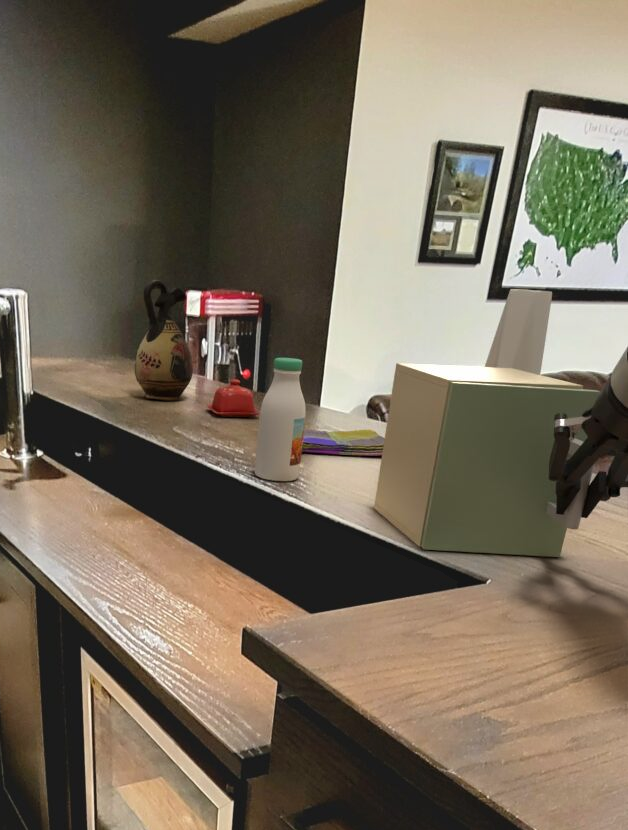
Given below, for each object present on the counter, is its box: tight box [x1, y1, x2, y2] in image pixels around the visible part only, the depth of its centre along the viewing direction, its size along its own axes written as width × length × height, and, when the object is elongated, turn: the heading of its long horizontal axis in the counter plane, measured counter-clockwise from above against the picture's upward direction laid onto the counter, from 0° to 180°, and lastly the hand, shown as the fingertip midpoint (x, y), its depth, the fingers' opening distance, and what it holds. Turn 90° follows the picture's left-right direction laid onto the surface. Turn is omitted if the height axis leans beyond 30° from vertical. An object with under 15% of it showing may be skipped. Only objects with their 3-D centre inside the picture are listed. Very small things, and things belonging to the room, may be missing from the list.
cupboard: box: [373, 362, 584, 548], centre depth 101 cm, size 16×18×22 cm
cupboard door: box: [420, 382, 601, 558], centre depth 88 cm, size 7×18×22 cm, turn 89°
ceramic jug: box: [134, 279, 194, 401], centre depth 188 cm, size 17×15×30 cm
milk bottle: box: [253, 357, 307, 482], centre depth 122 cm, size 8×8×20 cm
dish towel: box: [302, 428, 385, 457], centre depth 149 cm, size 18×24×3 cm
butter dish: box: [205, 378, 260, 418], centre depth 175 cm, size 12×12×8 cm
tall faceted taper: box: [484, 288, 553, 375], centre depth 129 cm, size 12×12×33 cm
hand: (571, 506), depth 88 cm, fingers closed on cupboard door, 2 cm apart
